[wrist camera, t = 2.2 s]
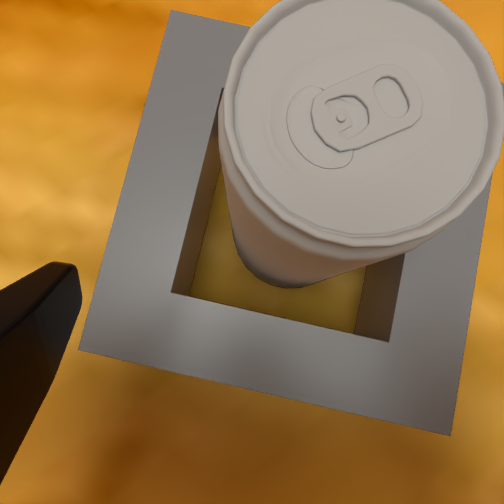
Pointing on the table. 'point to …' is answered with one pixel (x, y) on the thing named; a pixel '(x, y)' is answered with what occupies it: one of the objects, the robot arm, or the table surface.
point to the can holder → (252, 322)
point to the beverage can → (353, 133)
